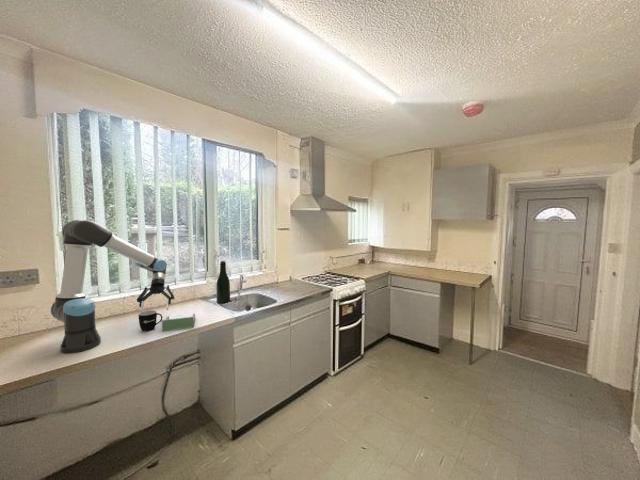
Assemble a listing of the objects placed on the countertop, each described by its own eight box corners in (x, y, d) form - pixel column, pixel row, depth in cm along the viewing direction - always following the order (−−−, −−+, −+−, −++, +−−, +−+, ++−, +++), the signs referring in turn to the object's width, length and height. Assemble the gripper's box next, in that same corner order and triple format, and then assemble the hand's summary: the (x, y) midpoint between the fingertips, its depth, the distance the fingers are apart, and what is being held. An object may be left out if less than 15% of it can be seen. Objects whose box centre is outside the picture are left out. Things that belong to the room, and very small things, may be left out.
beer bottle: (228, 298, 217) (228, 259, 215) (231, 302, 209) (231, 261, 207) (215, 300, 212) (214, 260, 210) (218, 304, 203) (217, 262, 201)
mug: (140, 333, 148) (140, 316, 147) (137, 329, 155) (137, 312, 154) (164, 328, 156) (164, 311, 156) (160, 323, 163) (160, 308, 162)
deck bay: (162, 331, 152) (162, 320, 152) (166, 321, 167) (166, 312, 166) (193, 327, 158) (193, 317, 158) (195, 318, 173) (194, 309, 173)
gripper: (180, 282, 180) (178, 310, 167) (137, 285, 170) (131, 315, 158) (178, 276, 175) (176, 305, 162) (134, 279, 165) (128, 309, 152)
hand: (154, 310), depth 160 cm, fingers open, 13 cm apart
